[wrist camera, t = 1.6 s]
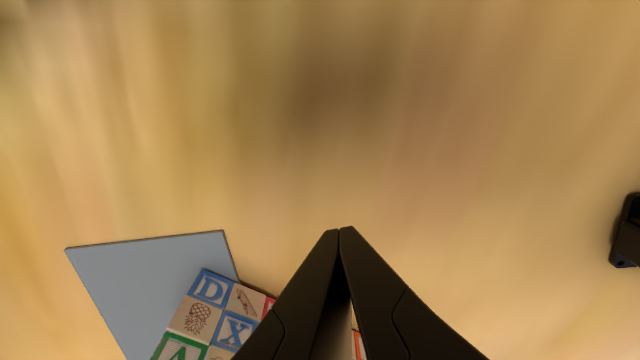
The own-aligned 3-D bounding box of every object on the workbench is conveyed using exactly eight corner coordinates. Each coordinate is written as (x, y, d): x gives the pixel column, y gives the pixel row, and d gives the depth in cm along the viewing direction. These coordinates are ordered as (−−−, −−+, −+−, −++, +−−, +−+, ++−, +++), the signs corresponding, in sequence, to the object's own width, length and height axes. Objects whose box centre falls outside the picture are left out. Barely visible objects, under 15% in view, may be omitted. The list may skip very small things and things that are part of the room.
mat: (222, 229, 24) (221, 231, 24) (280, 411, 33) (280, 414, 33) (66, 247, 26) (63, 249, 25) (163, 418, 35) (162, 420, 34)
